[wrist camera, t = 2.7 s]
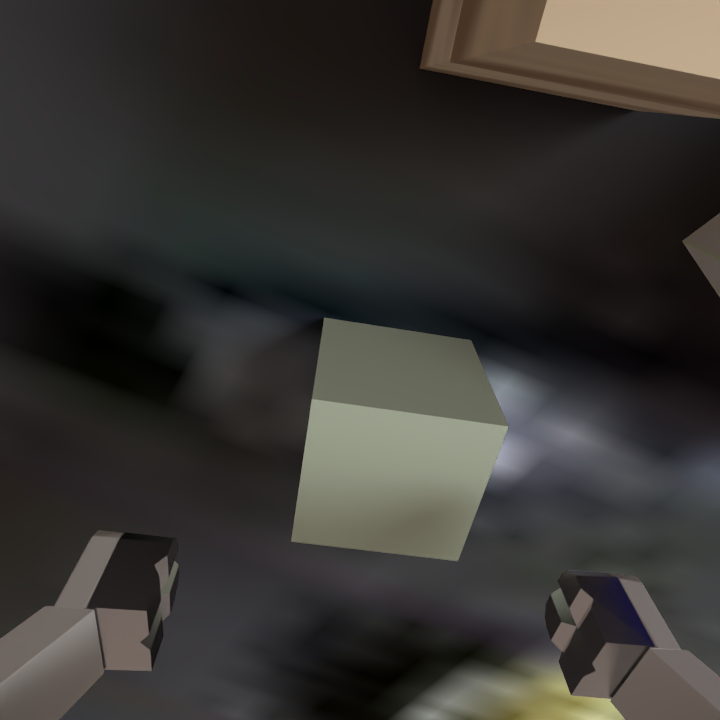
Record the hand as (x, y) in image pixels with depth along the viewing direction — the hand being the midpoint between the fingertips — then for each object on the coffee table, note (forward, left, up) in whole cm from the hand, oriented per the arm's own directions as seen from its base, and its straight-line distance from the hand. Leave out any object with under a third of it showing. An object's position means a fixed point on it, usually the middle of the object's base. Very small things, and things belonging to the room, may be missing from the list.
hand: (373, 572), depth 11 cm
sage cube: (-1, -1, -8) cm, 8 cm away
